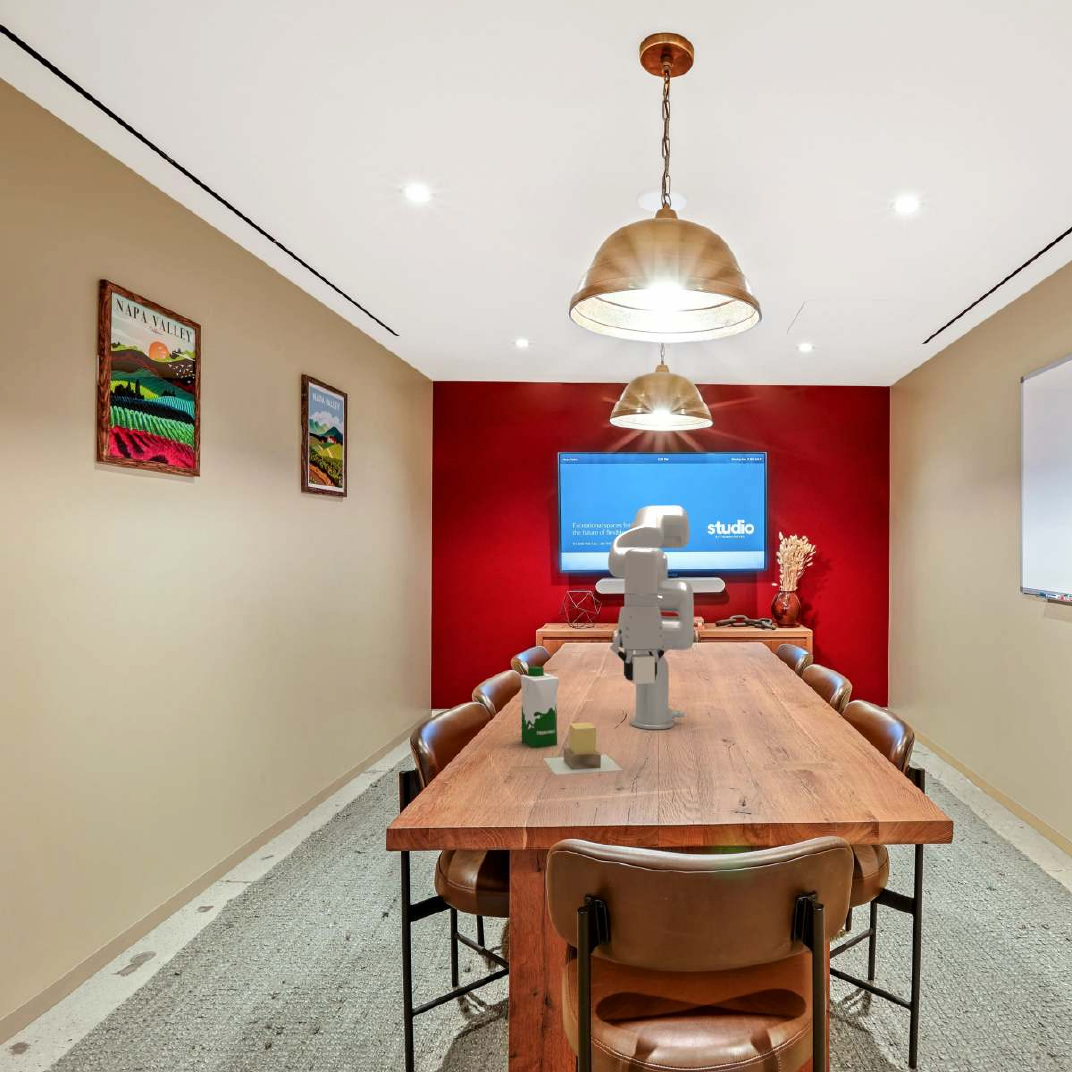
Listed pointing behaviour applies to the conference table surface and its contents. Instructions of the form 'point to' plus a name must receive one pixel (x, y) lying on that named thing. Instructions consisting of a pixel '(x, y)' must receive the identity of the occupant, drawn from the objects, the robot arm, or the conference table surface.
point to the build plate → (562, 768)
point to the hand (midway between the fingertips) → (640, 678)
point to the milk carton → (539, 708)
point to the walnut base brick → (582, 760)
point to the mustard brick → (582, 738)
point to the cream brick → (643, 668)
